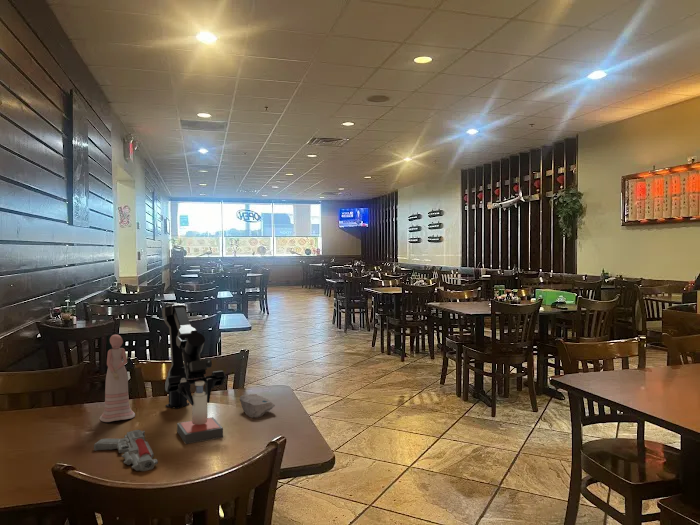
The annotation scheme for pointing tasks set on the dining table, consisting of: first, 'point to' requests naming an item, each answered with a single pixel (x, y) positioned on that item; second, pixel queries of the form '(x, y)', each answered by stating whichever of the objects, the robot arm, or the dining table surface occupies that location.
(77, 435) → the dining table surface
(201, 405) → the white bottle
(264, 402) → the stone
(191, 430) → the stand
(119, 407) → the figurine
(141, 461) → the toy gun
